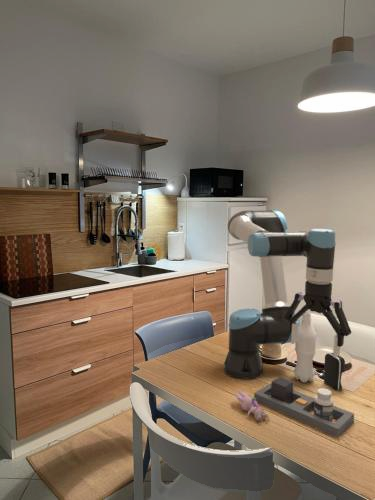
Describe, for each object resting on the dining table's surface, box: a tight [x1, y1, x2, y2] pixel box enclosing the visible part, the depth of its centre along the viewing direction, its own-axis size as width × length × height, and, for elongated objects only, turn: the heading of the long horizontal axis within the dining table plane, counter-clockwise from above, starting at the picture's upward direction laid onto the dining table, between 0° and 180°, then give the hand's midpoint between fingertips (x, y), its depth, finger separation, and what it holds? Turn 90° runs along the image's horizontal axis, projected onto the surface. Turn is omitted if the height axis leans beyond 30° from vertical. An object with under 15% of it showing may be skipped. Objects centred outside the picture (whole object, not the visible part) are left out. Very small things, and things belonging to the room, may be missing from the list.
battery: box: [323, 352, 346, 391], centre depth 135 cm, size 7×4×11 cm, turn 20°
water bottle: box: [293, 311, 317, 383], centre depth 139 cm, size 7×7×25 cm
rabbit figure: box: [234, 391, 271, 425], centre depth 118 cm, size 6×6×15 cm
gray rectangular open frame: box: [253, 376, 355, 438], centre depth 119 cm, size 28×11×7 cm, turn 45°
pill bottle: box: [313, 387, 334, 422], centre depth 114 cm, size 5×5×9 cm
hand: (314, 349), depth 117 cm, fingers open, 13 cm apart
